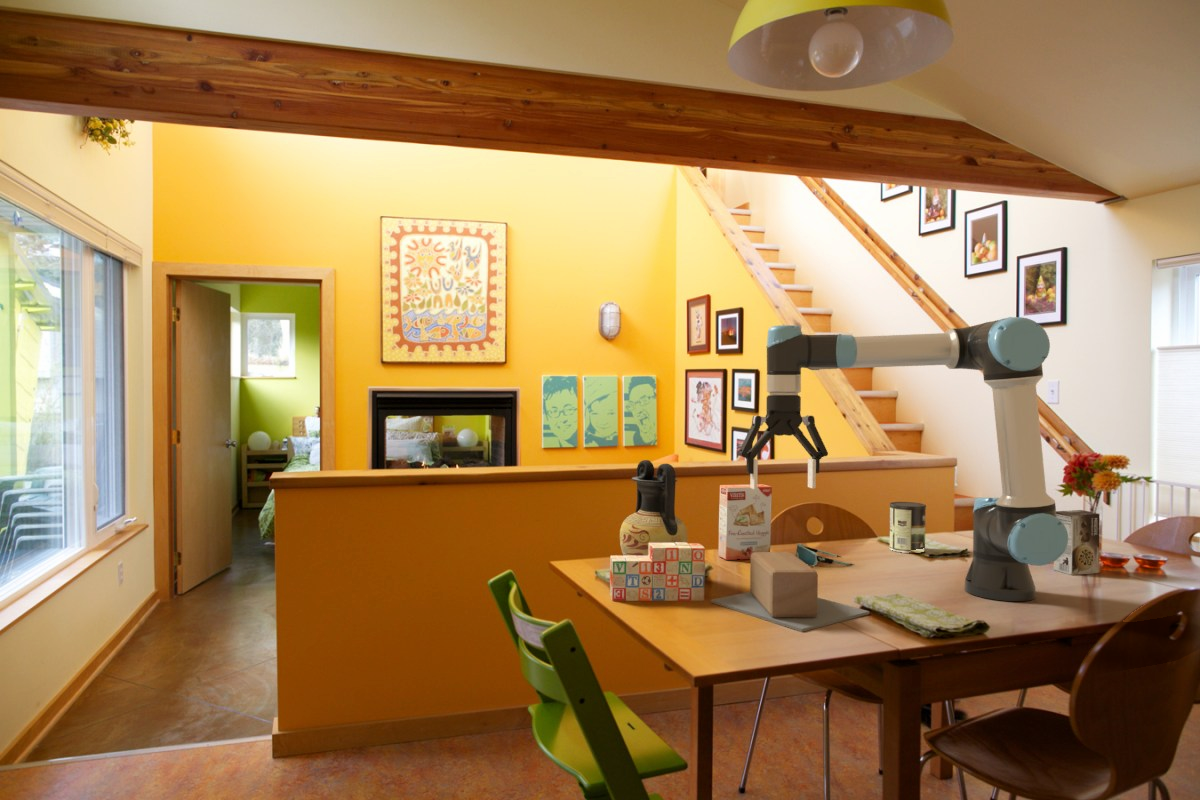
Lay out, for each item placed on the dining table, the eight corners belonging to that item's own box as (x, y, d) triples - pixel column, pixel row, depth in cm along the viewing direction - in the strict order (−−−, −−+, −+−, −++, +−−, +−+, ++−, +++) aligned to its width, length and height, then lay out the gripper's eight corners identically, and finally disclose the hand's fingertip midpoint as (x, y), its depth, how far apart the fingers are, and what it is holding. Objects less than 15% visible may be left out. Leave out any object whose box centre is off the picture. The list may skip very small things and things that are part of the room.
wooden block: (791, 593, 183) (818, 618, 163) (749, 593, 183) (771, 619, 163) (792, 551, 183) (819, 571, 163) (749, 551, 183) (771, 571, 163)
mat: (869, 614, 169) (869, 611, 169) (801, 631, 156) (801, 628, 156) (776, 588, 190) (776, 586, 190) (710, 602, 178) (710, 599, 178)
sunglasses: (788, 556, 228) (790, 539, 228) (837, 563, 229) (840, 546, 229) (802, 567, 214) (805, 549, 214) (855, 574, 215) (858, 556, 215)
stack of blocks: (611, 601, 178) (612, 547, 178) (609, 594, 184) (610, 542, 184) (704, 600, 179) (705, 547, 179) (699, 593, 186) (700, 541, 185)
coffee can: (922, 547, 241) (922, 502, 241) (928, 554, 231) (928, 507, 231) (886, 546, 244) (887, 500, 243) (891, 552, 234) (891, 505, 233)
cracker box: (726, 561, 220) (727, 487, 220) (717, 556, 226) (718, 484, 226) (771, 558, 224) (772, 485, 224) (761, 554, 230) (762, 483, 229)
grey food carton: (1079, 568, 215) (1080, 509, 215) (1100, 573, 209) (1101, 513, 209) (1052, 569, 213) (1053, 510, 213) (1071, 575, 207) (1072, 514, 206)
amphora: (701, 582, 196) (702, 462, 195) (651, 593, 185) (652, 466, 185) (654, 569, 210) (655, 457, 209) (604, 578, 199) (605, 460, 199)
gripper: (829, 394, 182) (828, 485, 183) (725, 393, 179) (724, 486, 179) (843, 394, 175) (842, 489, 175) (735, 394, 172) (734, 491, 172)
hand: (782, 488), depth 177 cm, fingers open, 13 cm apart
